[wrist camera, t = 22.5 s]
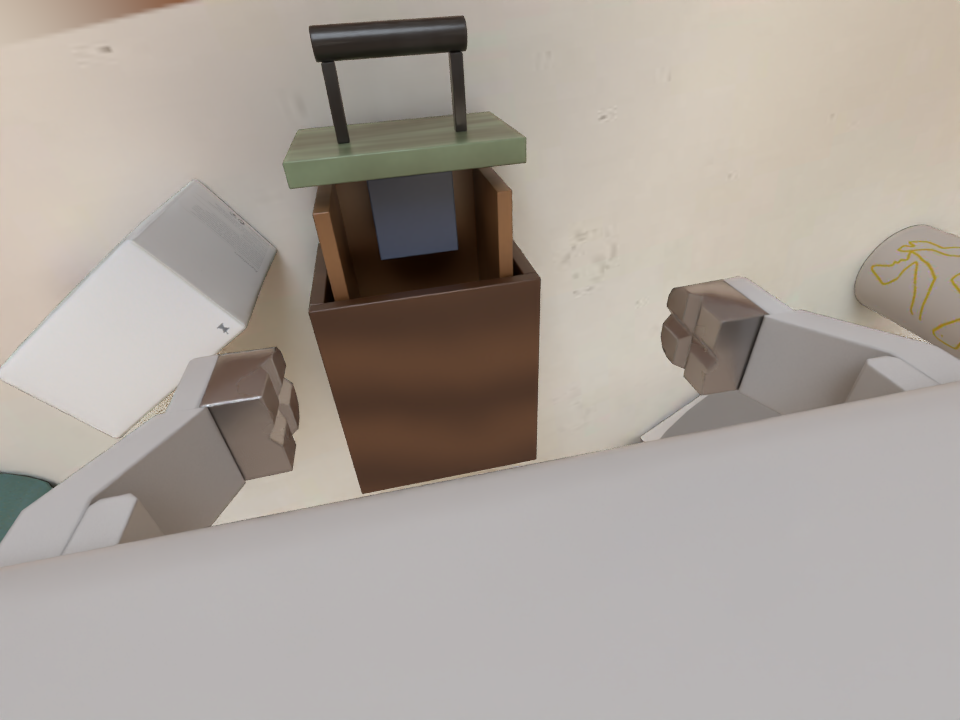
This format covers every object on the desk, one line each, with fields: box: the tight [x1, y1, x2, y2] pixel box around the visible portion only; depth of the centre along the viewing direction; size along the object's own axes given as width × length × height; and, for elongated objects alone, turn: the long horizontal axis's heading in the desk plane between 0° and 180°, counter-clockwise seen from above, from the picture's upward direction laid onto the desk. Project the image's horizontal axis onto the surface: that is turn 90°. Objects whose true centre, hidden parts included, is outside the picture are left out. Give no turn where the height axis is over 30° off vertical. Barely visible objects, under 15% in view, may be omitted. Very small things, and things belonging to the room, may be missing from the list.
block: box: [366, 171, 458, 260], centre depth 29 cm, size 4×4×4 cm
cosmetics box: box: [0, 179, 277, 439], centre depth 28 cm, size 10×6×10 cm, turn 127°
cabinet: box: [308, 240, 541, 494], centre depth 34 cm, size 15×13×10 cm
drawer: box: [283, 16, 526, 302], centre depth 28 cm, size 18×11×8 cm, turn 3°
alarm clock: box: [641, 390, 782, 442], centre depth 46 cm, size 23×6×13 cm, turn 129°
